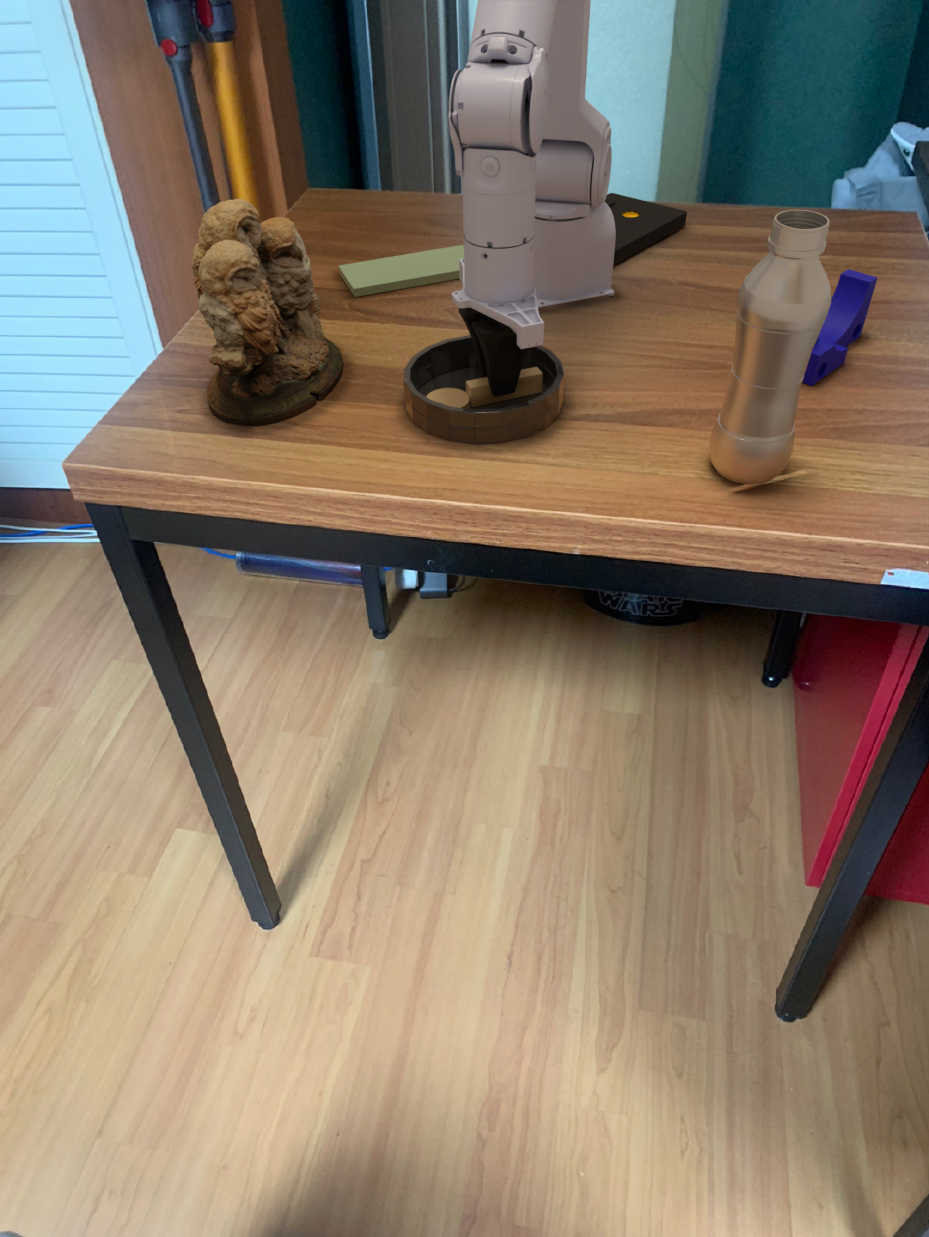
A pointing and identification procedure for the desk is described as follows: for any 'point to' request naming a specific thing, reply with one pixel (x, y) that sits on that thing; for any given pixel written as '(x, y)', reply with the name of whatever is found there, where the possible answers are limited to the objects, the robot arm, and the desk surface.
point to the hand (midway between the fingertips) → (499, 387)
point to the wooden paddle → (488, 391)
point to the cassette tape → (641, 223)
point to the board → (402, 271)
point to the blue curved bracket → (840, 324)
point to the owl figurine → (260, 317)
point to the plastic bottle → (772, 350)
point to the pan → (487, 422)
